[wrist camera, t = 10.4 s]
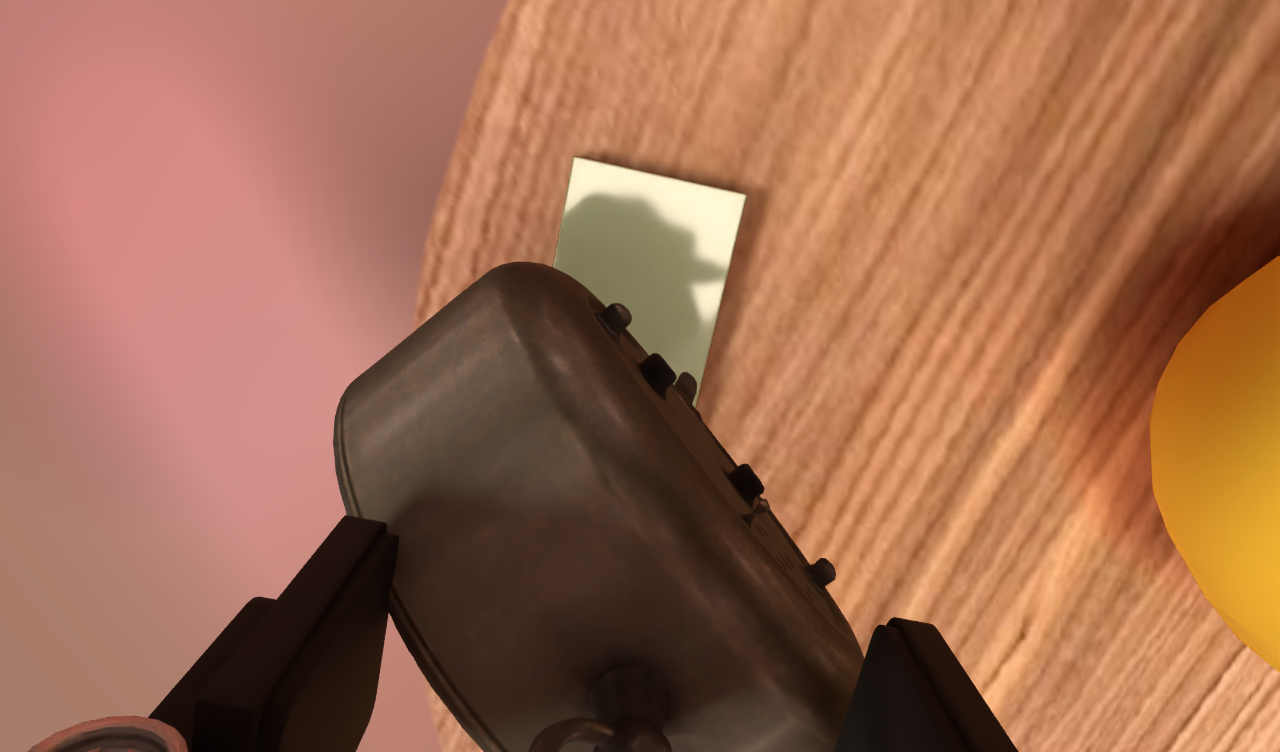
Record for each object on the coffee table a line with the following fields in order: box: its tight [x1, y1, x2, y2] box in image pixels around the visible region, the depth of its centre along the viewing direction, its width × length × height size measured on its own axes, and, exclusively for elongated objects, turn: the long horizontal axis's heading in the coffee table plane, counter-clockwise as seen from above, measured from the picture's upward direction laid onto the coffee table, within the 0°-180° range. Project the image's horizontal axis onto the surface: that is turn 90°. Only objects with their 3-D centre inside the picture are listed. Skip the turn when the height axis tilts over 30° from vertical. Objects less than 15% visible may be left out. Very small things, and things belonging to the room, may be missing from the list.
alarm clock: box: [333, 262, 864, 752], centre depth 14 cm, size 11×5×16 cm, turn 38°
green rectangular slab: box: [553, 156, 747, 408], centre depth 33 cm, size 13×7×1 cm, turn 168°
